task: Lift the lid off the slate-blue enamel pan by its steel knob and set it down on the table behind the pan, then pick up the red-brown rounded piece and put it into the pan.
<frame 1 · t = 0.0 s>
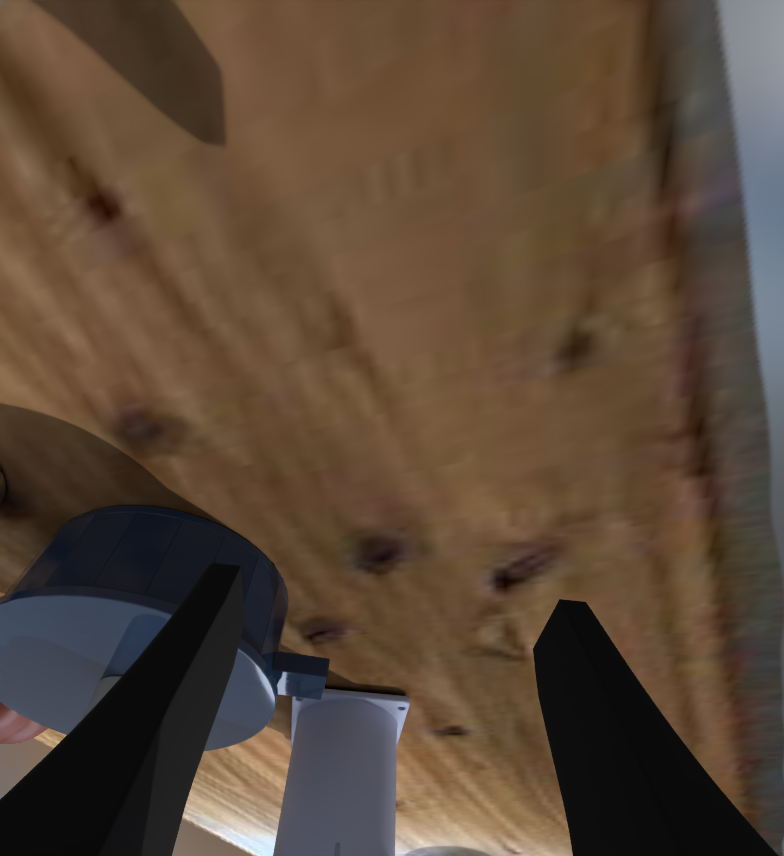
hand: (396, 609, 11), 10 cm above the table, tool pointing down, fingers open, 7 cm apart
pan: (171, 589, 28), on the table
pan lid: (130, 677, 23), point 5 cm above the table, touching pan
red-brown rounded piece: (30, 649, 32), on the table
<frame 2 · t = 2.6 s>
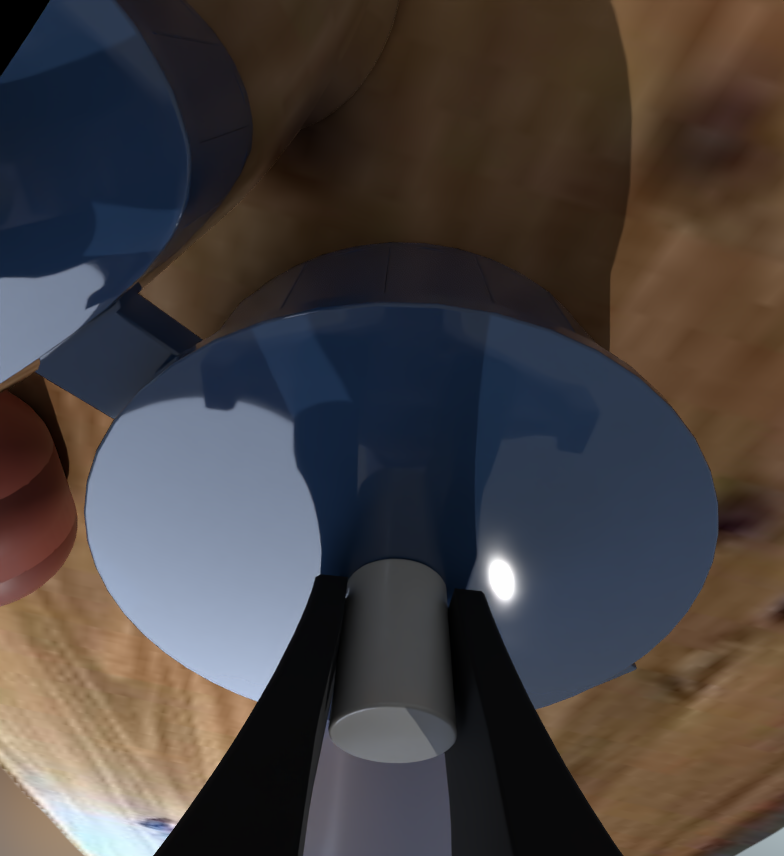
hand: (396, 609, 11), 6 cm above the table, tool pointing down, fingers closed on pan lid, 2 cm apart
pan: (400, 448, 16), on the table
pan lid: (396, 573, 12), point 5 cm above the table, touching gripper, pan
red-brown rounded piece: (22, 449, 17), on the table
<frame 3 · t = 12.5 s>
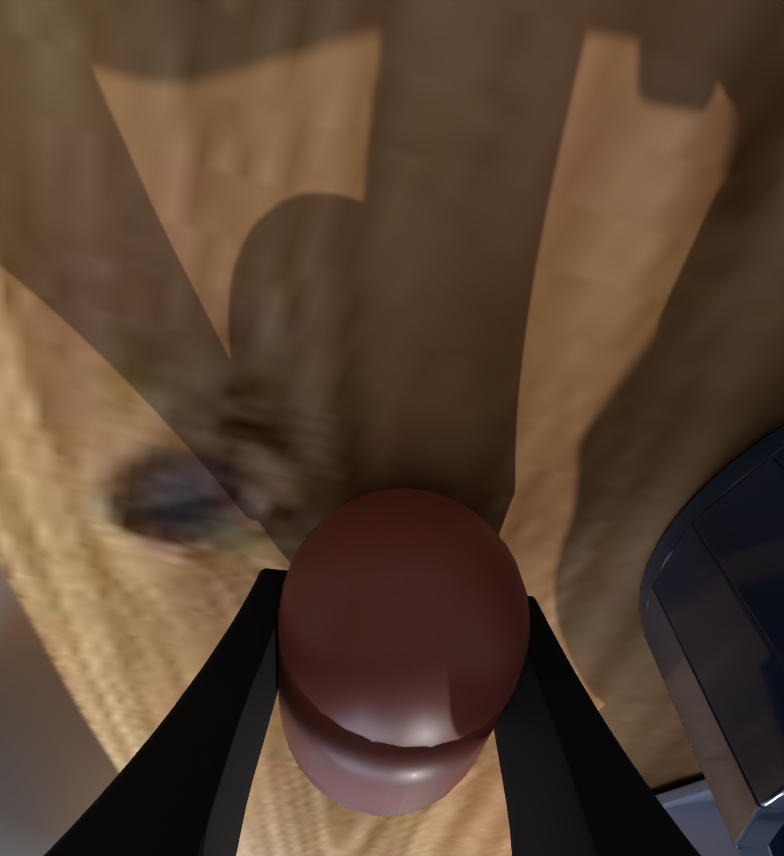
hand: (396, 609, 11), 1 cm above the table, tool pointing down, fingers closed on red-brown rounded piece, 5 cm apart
red-brown rounded piece: (396, 560, 12), on the table, touching gripper
when the fingers open (2 cm above the table, at t = 18.2 s): red-brown rounded piece stays where it is, resting on pan.
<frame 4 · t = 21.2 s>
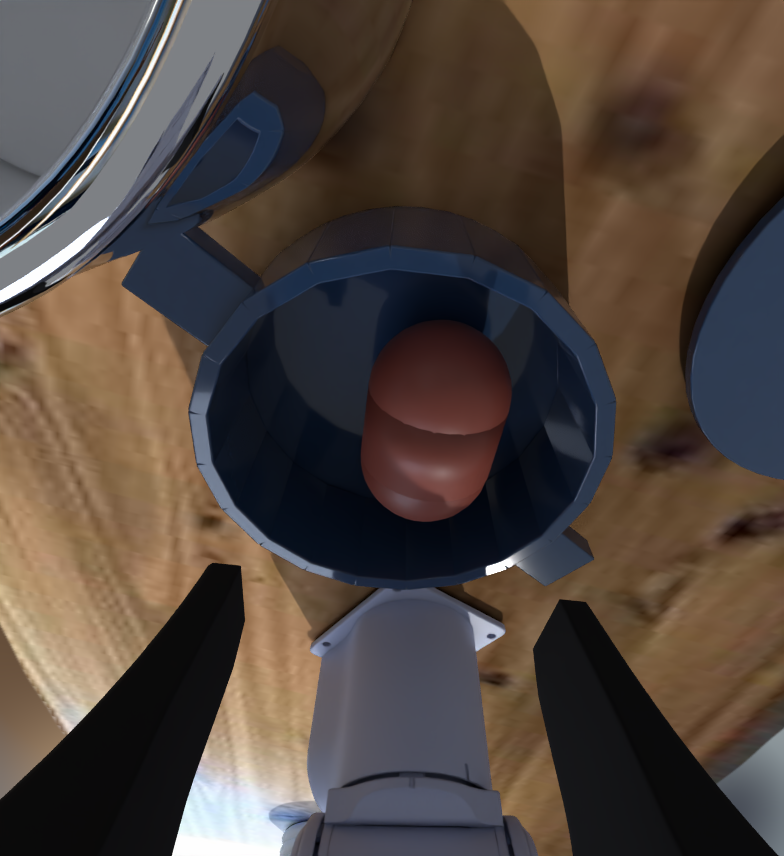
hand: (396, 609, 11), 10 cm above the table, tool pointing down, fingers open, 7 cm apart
pan: (401, 382, 20), on the table
red-brown rounded piece: (401, 390, 19), point 1 cm above the table, tilted 27°, touching pan
coaster: (331, 832, 52), on the table
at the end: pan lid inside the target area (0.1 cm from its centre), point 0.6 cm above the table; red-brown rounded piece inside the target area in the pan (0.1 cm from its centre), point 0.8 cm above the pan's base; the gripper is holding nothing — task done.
